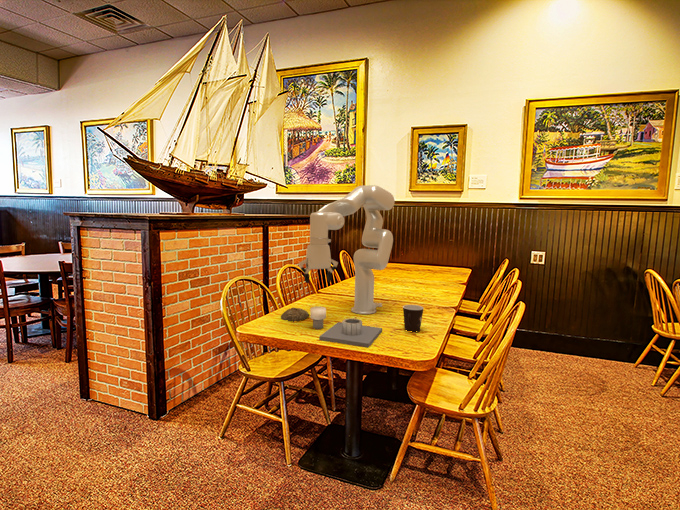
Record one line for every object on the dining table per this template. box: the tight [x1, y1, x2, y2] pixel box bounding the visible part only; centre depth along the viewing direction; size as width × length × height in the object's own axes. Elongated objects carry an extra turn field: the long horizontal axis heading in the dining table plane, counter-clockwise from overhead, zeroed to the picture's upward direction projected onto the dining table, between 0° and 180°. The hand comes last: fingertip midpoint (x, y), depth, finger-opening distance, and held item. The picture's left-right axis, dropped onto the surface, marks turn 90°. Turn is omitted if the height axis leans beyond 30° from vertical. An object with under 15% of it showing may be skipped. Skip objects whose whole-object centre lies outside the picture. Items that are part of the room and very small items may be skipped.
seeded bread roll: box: [280, 307, 310, 323], centre depth 174 cm, size 13×12×5 cm
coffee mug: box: [402, 304, 424, 333], centre depth 157 cm, size 12×9×10 cm
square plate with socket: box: [319, 318, 383, 348], centre depth 150 cm, size 20×20×6 cm
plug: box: [310, 306, 327, 330], centre depth 159 cm, size 7×7×8 cm
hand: (318, 282), depth 157 cm, fingers open, 9 cm apart
